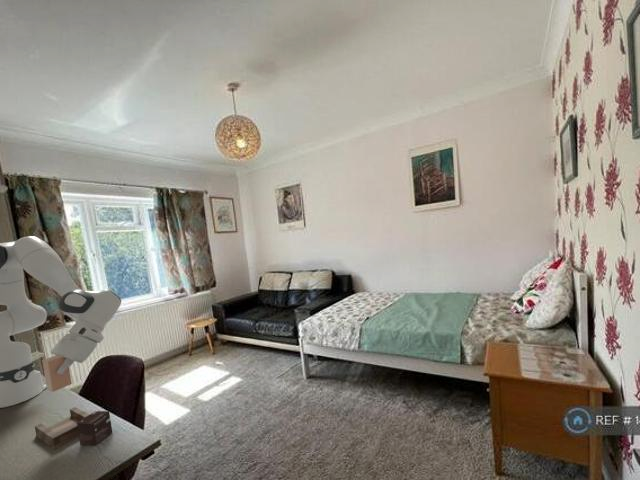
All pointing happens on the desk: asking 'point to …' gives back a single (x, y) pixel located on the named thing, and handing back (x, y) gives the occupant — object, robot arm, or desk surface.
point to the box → (94, 428)
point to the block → (53, 378)
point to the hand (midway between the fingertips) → (54, 372)
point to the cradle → (61, 429)
